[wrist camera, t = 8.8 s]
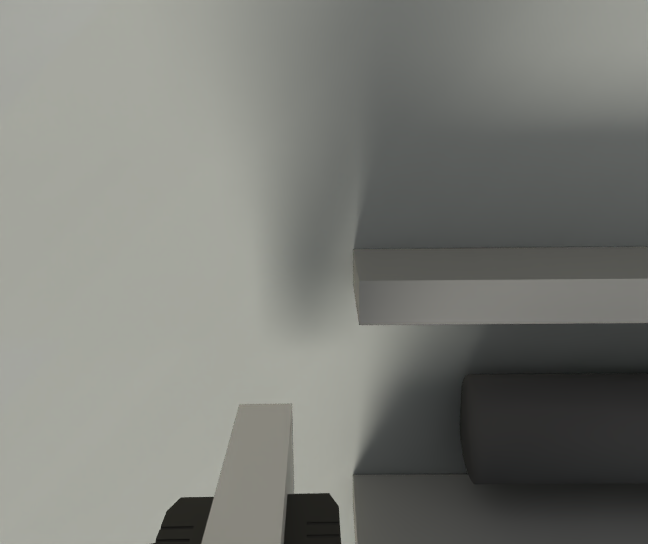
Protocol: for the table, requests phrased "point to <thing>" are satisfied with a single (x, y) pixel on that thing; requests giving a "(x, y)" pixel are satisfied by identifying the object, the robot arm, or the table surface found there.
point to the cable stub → (555, 428)
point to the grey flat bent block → (498, 308)
